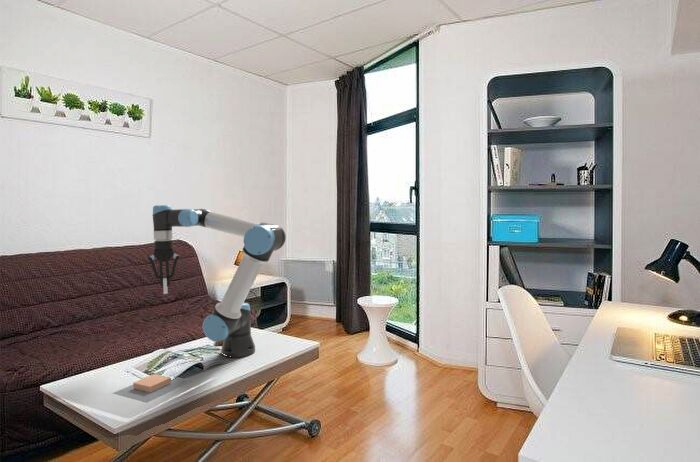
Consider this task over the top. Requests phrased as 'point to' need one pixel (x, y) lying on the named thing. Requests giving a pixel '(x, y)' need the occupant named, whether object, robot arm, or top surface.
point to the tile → (152, 383)
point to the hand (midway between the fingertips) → (165, 293)
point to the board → (147, 396)
